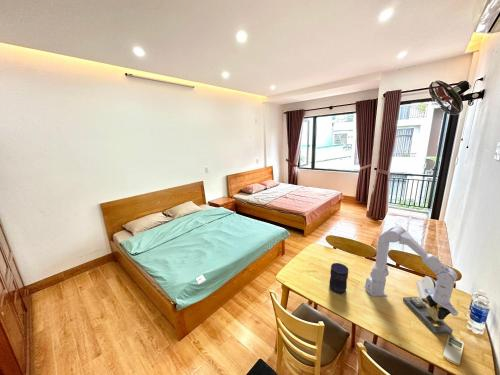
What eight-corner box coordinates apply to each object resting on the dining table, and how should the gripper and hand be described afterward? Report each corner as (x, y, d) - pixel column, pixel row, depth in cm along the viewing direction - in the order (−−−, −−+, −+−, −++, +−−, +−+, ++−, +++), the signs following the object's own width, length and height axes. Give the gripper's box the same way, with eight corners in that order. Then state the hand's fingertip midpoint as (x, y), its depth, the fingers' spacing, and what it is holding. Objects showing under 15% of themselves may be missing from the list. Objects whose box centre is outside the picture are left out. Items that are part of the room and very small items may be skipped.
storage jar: (347, 295, 118) (350, 274, 114) (330, 293, 120) (332, 272, 116) (344, 283, 127) (346, 263, 124) (328, 281, 129) (329, 262, 126)
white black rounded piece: (415, 282, 127) (425, 271, 123) (424, 286, 125) (434, 276, 121) (420, 300, 113) (432, 289, 109) (430, 305, 111) (442, 294, 107)
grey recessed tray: (435, 334, 94) (436, 330, 93) (402, 300, 113) (403, 297, 113) (451, 333, 94) (452, 329, 94) (416, 300, 113) (417, 296, 113)
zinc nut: (416, 311, 107) (418, 302, 105) (410, 305, 110) (412, 296, 109) (423, 310, 107) (425, 302, 105) (417, 304, 111) (419, 296, 109)
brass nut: (435, 321, 96) (438, 312, 94) (428, 314, 100) (430, 305, 98) (443, 321, 96) (446, 311, 94) (435, 313, 100) (438, 304, 98)
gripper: (467, 304, 87) (460, 328, 90) (436, 280, 101) (430, 302, 104) (452, 304, 87) (445, 328, 90) (423, 281, 101) (418, 302, 104)
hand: (436, 314), depth 97 cm, fingers closed on brass nut, 4 cm apart
